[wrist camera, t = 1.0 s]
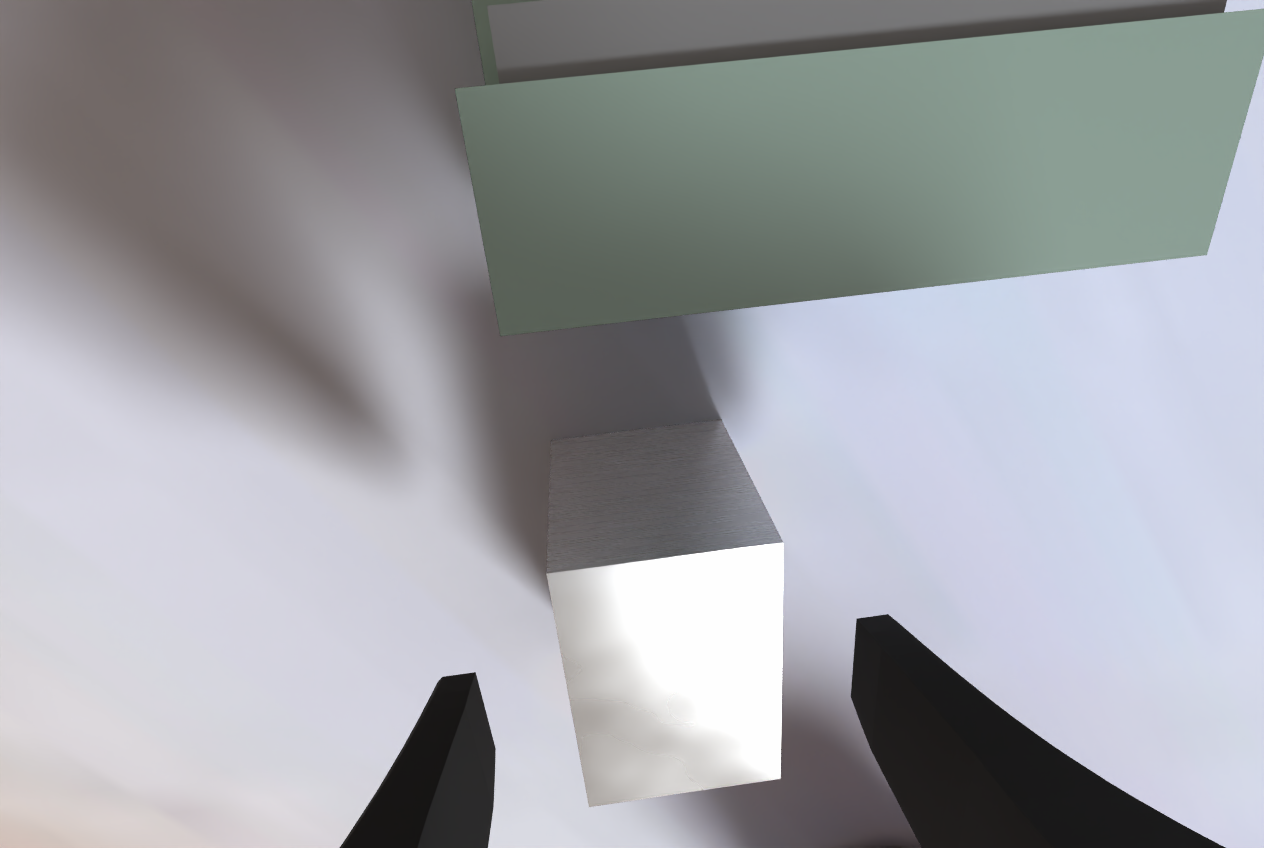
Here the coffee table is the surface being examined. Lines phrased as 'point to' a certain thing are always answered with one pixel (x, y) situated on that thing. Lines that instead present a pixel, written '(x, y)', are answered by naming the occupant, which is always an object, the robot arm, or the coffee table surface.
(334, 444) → the coffee table surface
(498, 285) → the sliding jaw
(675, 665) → the steel block
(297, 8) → the coffee table surface
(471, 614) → the coffee table surface
